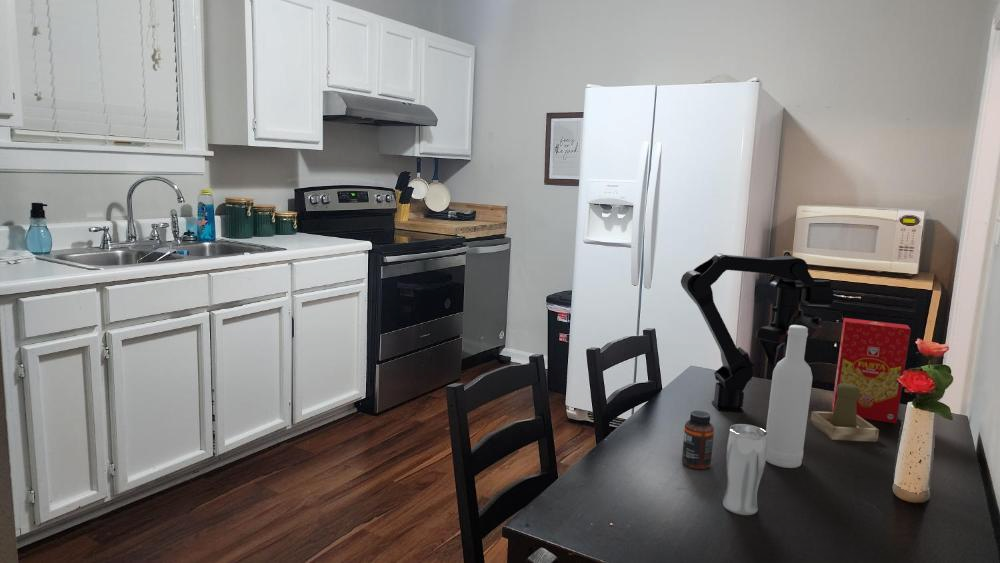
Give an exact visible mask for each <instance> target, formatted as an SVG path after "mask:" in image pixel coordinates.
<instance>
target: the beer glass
mask: <svg viewBox="0 0 1000 563" xmlns="http://www.w3.org/2000/svg"><path fill="white" fill-rule="evenodd" d="M767 438H768V433H767V432H766V429H763V428H761V427H758V426H756V425H752V424H747V423H735V424H732V425H731V426H730V427H729V431H728V437H727V440H726V441H727V442H726V448H725V449H726V450H725V468H726V469H725V470H726V481H727V482H726V490H725V493H724V497H723V500H722V505H723V507H724V508H725V509H726V511H727V510H728V511H729V512H731V513H734V514H736V515H741V516H752V515H753V516H754V515H755V514H757V512H758V489H759V485H760V482H761V479H762V477H763V473H764V470H765V466H766V462H767V461H766V457H767Z"/></svg>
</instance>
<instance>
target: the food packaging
mask: <svg viewBox="0 0 1000 563" xmlns="http://www.w3.org/2000/svg"><path fill="white" fill-rule="evenodd" d="M841 328H842V329H841V335H840V336H841V337H840V343H839V351H838V358H837V365H836V366H837V367H836V373H835V381H834V388H833V395H832V396H833V397H832V402H831V412H833V411H834V407H835V404H836V401H837V397H838V396H837V394H836V388H837V386H838V385H839V384H841V383H848V384H853V385H855V386H857V387H858V388H859V390H860V396H859V398H857V399H856V414H857V415H858V416H860V417H861V418H863V419H866V420H867V419H868V420H872V421H878V422H879V421H880V422H885V423H891V424H897V420H898V416H899V415H898V414H899V409H900V408H899V407H900V401H901V394H902V388H903V385H902V386H901V385H900V384H899V383H898V382H897V378H898V377H899V376H901V375H902V373H903V371H904V372H905V370H906V369H905V368H906V362H907V356H908V349H909V342H910V337H911V331H912V329H911V328H910V327H909V325H907V324H901V323H892V322H884V321H875V320H874V321H873V320H865V319H857V318H848V317H843V321H842V327H841Z"/></svg>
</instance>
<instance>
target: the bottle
mask: <svg viewBox="0 0 1000 563" xmlns="http://www.w3.org/2000/svg"><path fill="white" fill-rule="evenodd" d="M807 336H808V329H807V328H806V327H805V326H800V325H791V326H789V330H788V341H787V349H785V357H783V358H782V359H781V360H779V361H778V362H777V363H776V364H775V367H774V368H773V370H772V378H771V386H770V395H769V402H768V403H769V404H768V412H767V419H766V428H765V431H766V432H767V433H768V438H767V457H766V462H767V463H769V464H771V465H773V466H776V467H779V468H786V469H787V468H788V469H794V468H795V469H797V468H799V467H801V465H802V462H803V458H804V447H805V439H806V431H807V423H808V415H809V409H810V400H811V393H812V392H811V391H812V385H813V374H812V368H811V367H810V365H809V364H808V363H807V362H806V360H805V354H806V346H807Z"/></svg>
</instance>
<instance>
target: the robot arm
mask: <svg viewBox="0 0 1000 563" xmlns="http://www.w3.org/2000/svg"><path fill="white" fill-rule="evenodd" d="M726 271H733V272H735V271H736V272H747V273H758V274H759V273H761V274H768V275H773V276H776V279H775V280H773V281H771V282H770V283H769V284H770V286H772V287H774V288H776V289H777V296H776V302H775V304H776V306H772V312H775V313H774V318H773V319H774V320H773V321H771V322H770V326H769V325H766V326H760V327H759V328H758V329H757V330H756V334H755V338H756V339H758V341H759V342H760V343H761V345H762V347H763V349H764V351H765V352H764V353H765V355H766V358H767V360H768V363H769V365H770V366H776V364H777V363H776V362H777V359H778V355H779V351H780V347H781V346H784V347H785V350H786V349H787V341H788V330H789V326H791V325H800V326H805V327H806V328H807V329H808V336H807V339H808V340H812V339H814V338H817V337H818V334H819V333H820V332H822V331H823V330H824V329H823V327H824V326H823V319H822V318H821V317H818V316H815V317H813V318H810V317H806V316H804V313H805V311H804V309H801V302H803V304H804V305H805V306H807V307H808V306H812V307H830V306H831V305H832V304H833V302H834V300H835V299H834V297H835V295H834V290H833V287H832V281H830V280H828V279H821V280H818V279H817V280H814V279H813V277H812V275H811V273H810V272H809V266H808V263H807V262H806V260H805V259H803V258H800V257H796V256H793V255H779V256H773V257H756V256H747V255H746V256H743V255H733V254H724V253H715V254H714V255H713V256H712V257H711V258H709V259H708V260H706V261H705V262H703V263H700V264H699V265H697V266H696V267H695V268H694V269H692V270H688V271H686V272H685V273H684V274H683V275H681V279H680V285H681V287H682V289H683V290H684V291H685V293H686V294H687V296H688V297H689V298H690V299H691V300H692V301H693V303H694V304H695V305H696V306H697V307H698V309H699V311H700V313H701V315H702V317H703V320H704V322H705V323H706V325H707V327H708V330H709V331H710V333H711V335H712V338H713V339H714V342H715V343H716V346H717V348H718V350H719V352H720V359H721V363H722V364H721V365H722V366H721V367H719V368H718V369H717V370H716V371H715V372H714V373H713V374H714V377H715V378H714V379H715V380H716V381H717V382H715V388H714V396H713V397H714V398H713V400H711V404H712V405H713V406H714V407H715V408H716V409H717V411H722V412H723V411H724V412H725V411H726V412H728V411H729V412H741V413H742V412H743V411H744V409H743V408H744V407H743V406H744V397H745V392H744V390H745V389H746V386H747V384H748V383H749V381H751V380H752V378H753V376H754V375H755V370H754V367H755V364H754V363H753V362H752V361H751V359H750V355H749V353H748V351H746V350H745V349H743V348H742V347H741V346H740V347H737V346H736V344H735V341H734V339H733V338H732V335H731V333H730V332H729V330H728V328H727V326H726V323H725V322H724V319H723V318H722V316H721V314H720V312H719V310H718V307H717V306H716V304H715V301H714V293H713V289H712V285H713V284H714V283H716V282H718V280H719V278H720V277H721V276H722V275H723V274H724V273H725V272H726ZM783 278H784V279H787V280H783ZM796 282H797V283H801V284H796Z"/></svg>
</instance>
